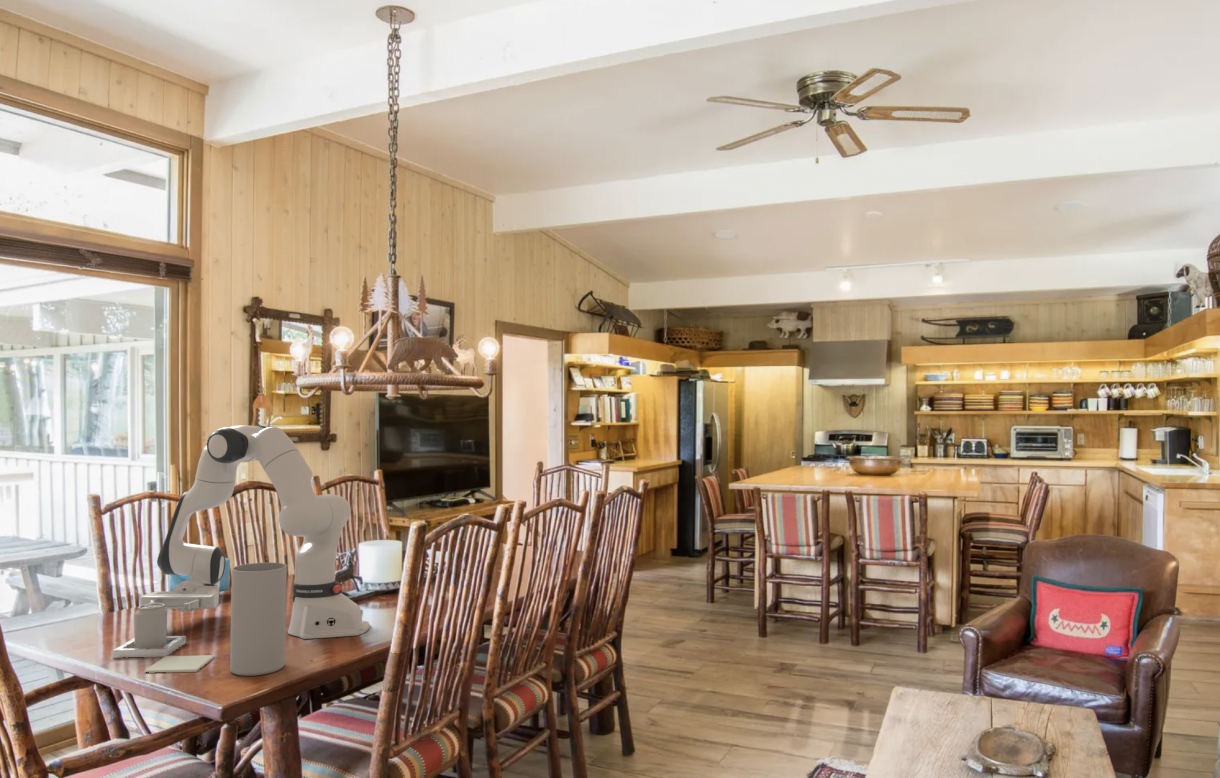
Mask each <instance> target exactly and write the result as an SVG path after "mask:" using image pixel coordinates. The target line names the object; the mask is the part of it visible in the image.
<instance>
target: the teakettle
mask: <svg viewBox="0 0 1220 778" xmlns="http://www.w3.org/2000/svg"><path fill="white" fill-rule="evenodd" d="M225 560H226V563H225V570H224V573H223V576H222V578H221V579H220V586H219V596H220V597H221V592H225V591H229V590H230V571H231V569H230V567H231V561H230V560H231V559H230V558H227V557H225ZM190 577H191V576H184V575H169V592H172V591H173V589H174V588H175V587H176V586H177V585H178V584H180V583H182V582H184V581H186V580H188V579H190Z"/></svg>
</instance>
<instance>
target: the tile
mask: <svg viewBox="0 0 1220 778" xmlns="http://www.w3.org/2000/svg"><path fill="white" fill-rule="evenodd" d="M213 659H215V654H211V655H210V654H208V655H207V654H204V655H200V654H199V655H168V656H165V657H161V659H159V660H158V661H156V662H155V663H153V664H152V665H150V666H149V667H148V668H146V669H145V670H144V674H147V673H146V672H149V673H148V674H154V673H155V672H166V673H193V672H194V673H197V672H198V671H199V670H201V669H202V668H203V667H204V666H206V665H207V664H208V663H210V662H211V661H213ZM205 664H206V665H205ZM200 668H201V669H200ZM155 674H156V673H155Z"/></svg>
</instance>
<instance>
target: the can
mask: <svg viewBox="0 0 1220 778" xmlns="http://www.w3.org/2000/svg"><path fill="white" fill-rule="evenodd" d="M164 606H165V605H164V604H162V603H151V604H144V605H141V606H140V605H138V606H137V610H136V611H135V613H134V638H135V640H134V648H163V647H164V646H166V645H167V636H168V632H167V630H168V609H166V608H165V607H164Z"/></svg>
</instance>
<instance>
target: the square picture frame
mask: <svg viewBox="0 0 1220 778" xmlns="http://www.w3.org/2000/svg"><path fill="white" fill-rule="evenodd" d="M134 640H135V637H133V638H131V639H130V640H128V641H126V642H125V643H122V644H121V645H119V646H118V647H116V648H114V649H113V650H112V659H124V658H123V657H126V658H125V659H129V658H128V657H144V658H164V657H165V656H170V655H171V654H172V653H174V652H175V651H177V650H178V649H180V648H181V647H183V646H184V645H186V644H187V636H186V635H167V645H166V646H164V647H163V648H134ZM185 643H186V644H185ZM182 645H183V646H182ZM179 647H180V648H179ZM176 649H177V650H176ZM173 651H174V652H173ZM169 654H170V655H169Z"/></svg>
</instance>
